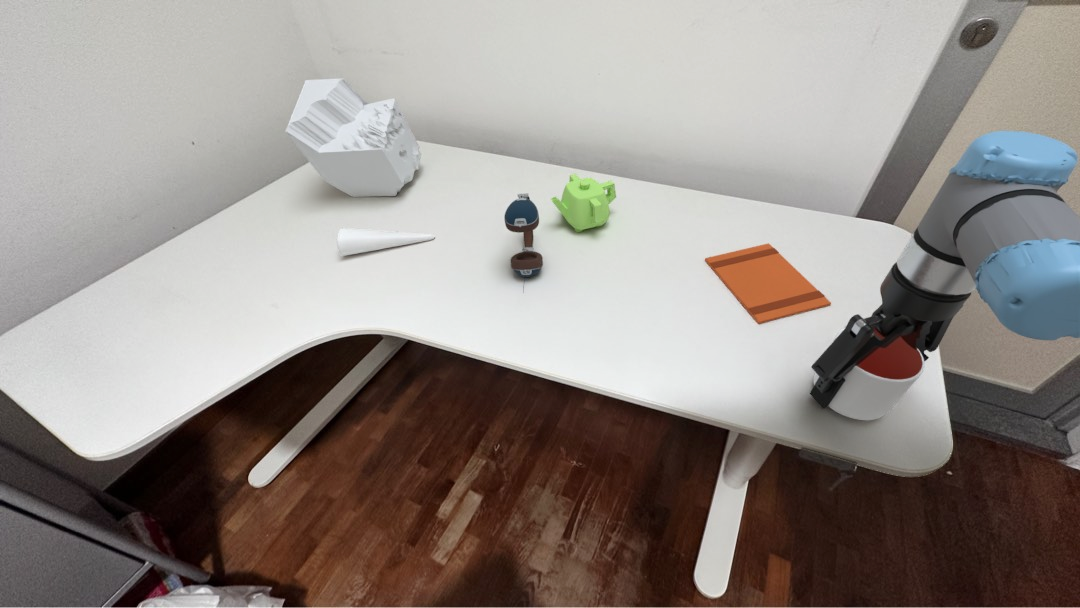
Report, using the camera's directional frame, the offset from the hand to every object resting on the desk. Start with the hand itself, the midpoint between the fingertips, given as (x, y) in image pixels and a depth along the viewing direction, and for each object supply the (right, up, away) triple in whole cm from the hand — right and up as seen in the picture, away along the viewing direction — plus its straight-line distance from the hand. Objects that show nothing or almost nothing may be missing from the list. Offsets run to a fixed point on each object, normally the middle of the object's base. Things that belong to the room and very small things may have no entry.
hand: (850, 391), depth 66 cm
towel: (-3, +17, +19) cm, 26 cm away
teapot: (-35, +31, +36) cm, 59 cm away
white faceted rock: (-87, +42, +52) cm, 110 cm away
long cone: (-78, +25, +34) cm, 88 cm away
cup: (0, -1, +1) cm, 1 cm away
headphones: (-48, +19, +26) cm, 57 cm away
